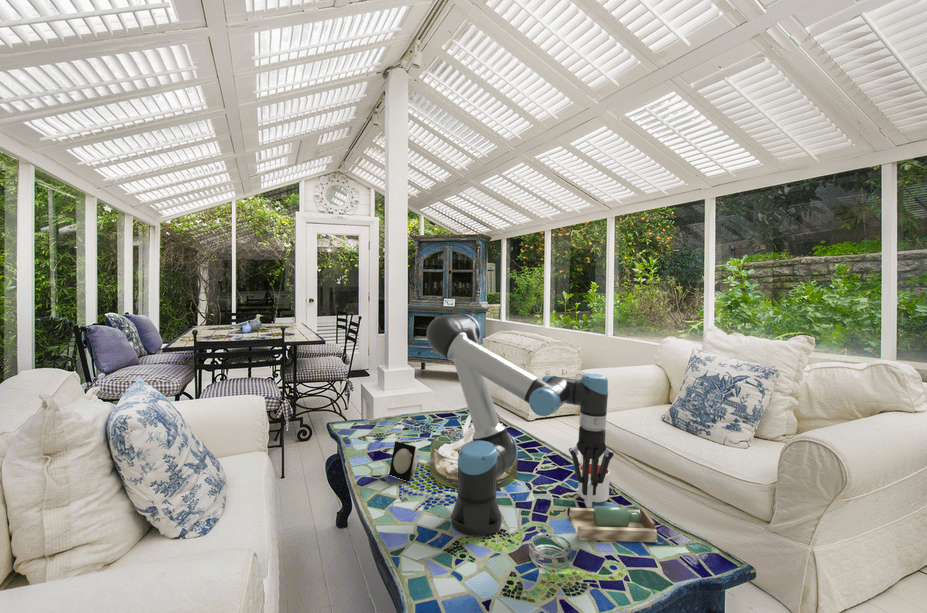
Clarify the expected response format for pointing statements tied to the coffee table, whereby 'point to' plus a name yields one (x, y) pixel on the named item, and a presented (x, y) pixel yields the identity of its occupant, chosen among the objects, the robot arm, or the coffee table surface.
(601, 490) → the cup
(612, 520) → the bottle
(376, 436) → the coffee table surface
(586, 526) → the wooden tray
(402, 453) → the decorative object
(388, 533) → the coffee table surface
